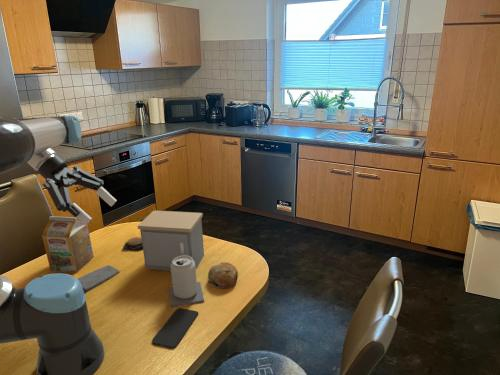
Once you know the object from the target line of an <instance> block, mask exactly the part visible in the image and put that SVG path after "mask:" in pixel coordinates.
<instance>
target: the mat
mask: <svg viewBox="0 0 500 375" xmlns="http://www.w3.org/2000/svg"><path fill="white" fill-rule="evenodd" d="M197 289H198V290H197V293H196V294H195V295H194V296H192V297H191V298H188V299H180V298H178V297H176V296H175V295H174V291H173V285H172V286H169V299H170V307H171V308H176V307H181V306H186V305H187V306H188V305H193V304H198V303H199V304H200V303H203V302H205V298H204V292H203V288H202V284H201V281H197Z"/></svg>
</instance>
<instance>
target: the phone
mask: <svg viewBox="0 0 500 375" xmlns="http://www.w3.org/2000/svg"><path fill="white" fill-rule="evenodd" d="M197 317H199V312H198V310H193V309H187V308H183V307H179V308H176V309H175V310H174V311H173V313H172V314H170V317H168V319H167V320H166V322H165V323H164V324H163V325H162V327H161V328H160V329H159V331H157V333H156V334H155V335H154V337H153V338H152V340H151V344H153V346H159V347H163V348H168V349H175V348H177V347H178V346H179V344H180V343H181V341H182V340H183V339H184V338H185V336H186V334H187V332H189V329H190V328H191V326H192V325H193V323H194V322H195V320H196V319H197Z"/></svg>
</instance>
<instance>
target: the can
mask: <svg viewBox="0 0 500 375" xmlns="http://www.w3.org/2000/svg"><path fill="white" fill-rule="evenodd" d="M170 274H171V275H170V276H171V281H172V286H173V291H174V295H175V296H176V297H178V298H180V299H188V298H191V297H192V296H194V295H195V294H196V293H197V290H198V289H197V282H198V277H197V268H196V267H195V262H194V261H193V259H192V258H191V257H190V256H179V257H176V258H175V259H173V261H172V264H171V271H170Z"/></svg>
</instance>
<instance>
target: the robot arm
mask: <svg viewBox="0 0 500 375" xmlns="http://www.w3.org/2000/svg"><path fill="white" fill-rule="evenodd" d="M81 140H82V127H81V124H80V120H79V119H78V117H76V116H75V115H60V116H57V115H56V116H43V117H28V118H27V117H26V118H25V117H24V118H15V117H13V118H12V117H4V116H0V175H1V174H5V173H7V172H10V171H12V170H14V169H17V168H19V167H22V166H23V165H25V164H28V165H29V166H31V168H33V169H34V170H35V171H36V172H38V174H39V175H40V176H41V177H42V178H44V179H45V181H44V182H43V183H42V186H43V188H45V189H46V190H47V192H48V194H49V196H50V198H51V200H52V202H53V205H54V207H55V208H56V210H57V212H61V211H62V212H64V213H65V212H66V211H67V212H68V213H69V214H71V215H72V216H73V217H75V218H76V219H78V221H80V222H82V223H84V224H85V225H88V224H89V223H90V221H91V220H92V219H93V217H91V216H90V215H89V214H88V213H86V212H85V211H84V210H83V209H82V208H81V207H80V206H79V205H78V204H77V203H75V202H73V203H72V199H71V195H70V192H69V191H70V190H69V187H72V186H80V187H84V188H87V189H90V190H94V191H95V194H96V195H98V196H99V197H100V198H101V199H102V200H103V201H104V202H105V203H106V204H107V205H109V206H110V207H112V206H114V205H115V203H116V202H117V199H116V198H115V197H114V196H112V194H110V192H109V191H108V190H107V189H106V188H104V180H103V179H101V178H99V177H97V176H95V175H94V174H91V173H89V172H87V171H86V170H83V169H82V168H80V166H78V165H74V166H73V168H70V167H68V163H67V161H65V160H64V159H63V157H61V156H60V155H58V154H57V153H56V151H55V150H54V149H53V148H55V147H57V146H61V145H71V144H77V143H80V142H81ZM86 300H87V298H86V293H85V294H84V291H83V288H82V285H81V283H80V281H79V280H78V278H77V277H75V276H74V275H71V274H68V273H62V272H61V273H60V272H57V273H50V274H49V273H48V274H44V275H42V277H35V278H34V279H31V281H29V282H28V283H27V285H26V286H25V287H20V288H15V287H14V285H13V283H12V281H11V280H10V279H9V278H8V277H7V276H4V275H0V345H2V344H7V343H8V344H9V343H14V342H20V341H25V340H31V339H32V340H33V339H36V340H37V344H38V353H37V354H38V355H37V360H36V374H37V375H93V374H94V373H95V372H96V371H97V370H98V369H99V368H100V366H101V365H102V363H103V361H104V358H105V349H104V344H103V342H102V340H101V339H100V337H99V336H98V335H97V333H96V332H95V331H94V328H92V325H91V319H90V314H89V310H88V305H87V301H86Z"/></svg>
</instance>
